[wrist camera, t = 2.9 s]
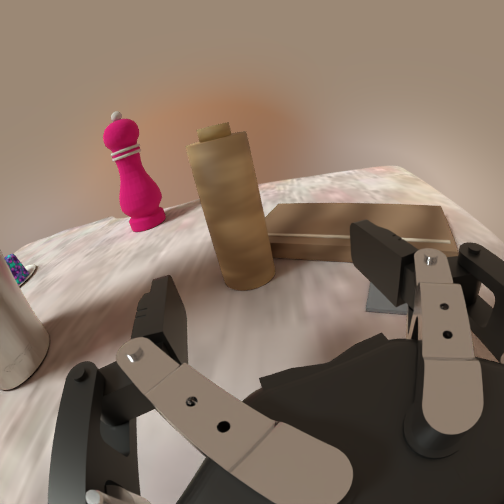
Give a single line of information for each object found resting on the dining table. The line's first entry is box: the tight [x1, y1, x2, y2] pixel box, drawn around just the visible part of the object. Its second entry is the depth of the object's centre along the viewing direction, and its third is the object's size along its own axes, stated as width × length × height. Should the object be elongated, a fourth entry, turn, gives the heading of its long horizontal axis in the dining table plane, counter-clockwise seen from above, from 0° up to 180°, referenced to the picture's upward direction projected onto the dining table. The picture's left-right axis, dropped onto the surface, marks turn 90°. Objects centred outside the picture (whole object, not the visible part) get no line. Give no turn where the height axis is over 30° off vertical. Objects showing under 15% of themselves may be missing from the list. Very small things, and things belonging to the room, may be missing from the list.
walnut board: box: [265, 203, 458, 262], centre depth 27 cm, size 20×10×2 cm, turn 64°
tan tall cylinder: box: [186, 122, 275, 291], centre depth 22 cm, size 5×5×13 cm
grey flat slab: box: [366, 283, 408, 314], centre depth 18 cm, size 7×6×1 cm
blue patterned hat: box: [4, 254, 36, 286], centre depth 36 cm, size 12×12×5 cm
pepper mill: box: [103, 111, 166, 232], centre depth 40 cm, size 7×7×20 cm
